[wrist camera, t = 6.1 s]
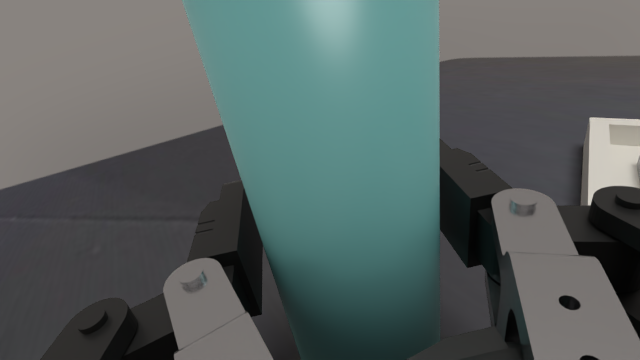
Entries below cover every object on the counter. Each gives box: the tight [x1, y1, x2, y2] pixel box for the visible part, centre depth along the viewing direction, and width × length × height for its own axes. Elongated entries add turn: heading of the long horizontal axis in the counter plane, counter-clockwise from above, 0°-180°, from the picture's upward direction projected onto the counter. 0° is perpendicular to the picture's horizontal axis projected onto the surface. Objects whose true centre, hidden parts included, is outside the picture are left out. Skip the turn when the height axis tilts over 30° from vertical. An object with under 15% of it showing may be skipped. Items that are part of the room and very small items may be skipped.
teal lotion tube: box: [182, 0, 440, 360], centre depth 9 cm, size 5×5×16 cm
